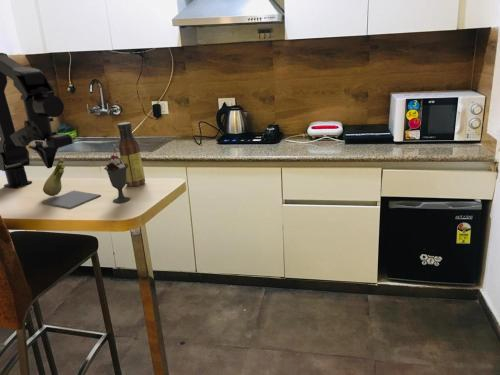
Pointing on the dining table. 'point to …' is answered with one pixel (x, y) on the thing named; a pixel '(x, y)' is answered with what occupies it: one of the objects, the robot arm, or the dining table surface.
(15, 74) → the robot arm
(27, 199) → the dining table surface
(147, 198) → the dining table surface
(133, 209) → the dining table surface
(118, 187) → the sundae
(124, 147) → the sauce bottle
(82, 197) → the mat
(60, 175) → the fennel bulb
